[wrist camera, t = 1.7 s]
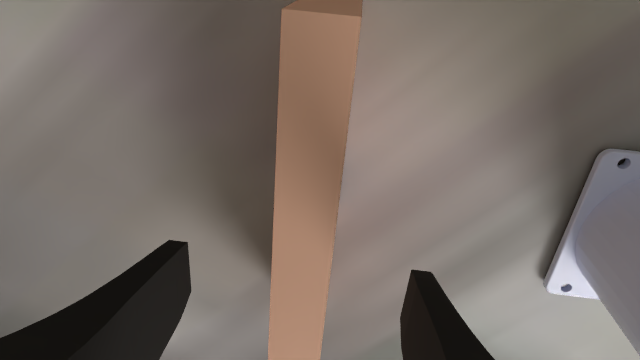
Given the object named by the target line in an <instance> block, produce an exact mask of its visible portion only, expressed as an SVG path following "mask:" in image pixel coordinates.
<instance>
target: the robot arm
mask: <svg viewBox="0 0 640 360" xmlns="http://www.w3.org/2000/svg"><path fill="white" fill-rule="evenodd" d="M623 158H626V160H625V162H624V163H623V164H621V165H617V164H618V162H619V161H620V160H621V159H623ZM543 284H544V287H545V289H546V290H547V291H548V292H549V293H552V294H559V295H567V296H575V297H583V298H591V299H599V300H601V302H602V303H603V304H604V306H605V307H606V309H607V310H608V311H609V313H610V314H611V316H612V317H613V319H614V320H615V321H616V323H617V324H618V326H619V327H620V329H621V330H622V331H623V333H624V334H625V336H626V337H627V338H628V340H629V341H630V343H631V344H632V346H633V347H634V348H635V350H636V351H637V353H638V354H639V356H640V152H639V151H630V150H621V149H606V150H604V151H602V152H601V153H599V155H598V156H597V158H596V160H595V162H594V165H593V167H592V169H591V172H590V174H589V176H588V179H587V181H586V183H585V186H584V188H583V190H582V193H581V195H580V197H579V200H578V202H577V204H576V207H575V209H574V211H573V214H572V216H571V218H570V221H569V223H568V225H567V228H566V230H565V232H564V235H563V237H562V240H561V242H560V244H559V247H558V249H557V251H556V254H555V256H554V258H553V261H552V263H551V265H550V268H549V270H548V272H547V275H546V277H545V279H544V283H543ZM565 284H568V285H567V286H564V287H562V286H563V285H565ZM190 293H191V280H190V267H189V254H188V242H181V241H173V240H169V241H167V242H166V243H164V244H163V245H161V246H160V247H158V248H157V249H156V250H154V251H153V252H152V253H150V254H149V255H147V256H146V257H145V258H143V259H142V260H141V261H139V262H138V263H136V264H135V265H133V266H132V267H131V268H129V269H128V270H126V271H125V272H123V273H122V274H121V275H119V276H118V277H116V278H115V279H113V280H111V281H110V282H108V283H107V284H105V285H104V286H102V287H100V288H99V289H97V290H96V291H94V292H93V293H91V294H89V295H88V296H86V297H84V298H83V299H81V300H79V301H77V302H76V303H74V304H72V305H70V306H68V307H66V308H64V309H62V310H61V311H59V312H57V313H55V314H53V315H51V316H49V317H47V318H45V319H42V320H40V321H38V322H36V323H34V324H32V325H29V326H27V327H25V328H23V329H21V330H19V331H16V332H14V333H12V334H9V335H7V336H4V337H2V338H0V360H159V359H160V357H161V355H162V353H163V351H164V349H165V348H166V346H167V344H168V342H169V340H170V338H171V336H172V334H173V333H174V331H175V329H176V327H177V325H178V323H179V321H180V319H181V317H182V314H183V312H184V309H185V307H186V304H187V301H188V299H189V296H190ZM400 324H401V348H402V355H403V360H495V359H494V358H493V357H492V356H491V355H490V354H489V352H488V351H487V350H486V349H485V348H484V346H483V345H482V344H481V343H480V341H479V340H478V339H477V338H476V336H475V335H474V334H473V333H472V331H471V330H470V329H469V327H468V326H467V325H466V323H465V322H464V320H463V319H462V318H461V316H460V315H459V313H458V312H457V311H456V309H455V308H454V306H453V305H452V303H451V302H450V300H449V299H448V297H447V296H446V294H445V293H444V291H443V290H442V288H441V286H440V285H439V283H438V282H437V280H436V278H435V277H434V275H433V274H432V273H431V272H427V271H419V270H411V274H410V278H409V282H408V287H407V291H406V295H405V299H404V304H403V308H402V312H401V316H400Z"/></svg>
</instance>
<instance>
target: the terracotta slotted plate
mask: <svg viewBox="0 0 640 360" xmlns="http://www.w3.org/2000/svg"><path fill="white" fill-rule="evenodd" d="M361 18H362V0H297V1H295V2H293V3H291V4H289V5H288V6H286V7H284V8H282V14H281V39H280V65H279V91H278V116H277V142H276V168H275V193H274V219H273V245H272V270H271V296H270V322H269V347H268V360H320V354H321V346H322V338H323V330H324V321H325V313H326V305H327V297H328V289H329V280H330V272H331V264H332V256H333V247H334V239H335V231H336V223H337V215H338V206H339V198H340V190H341V182H342V174H343V165H344V157H345V149H346V141H347V133H348V124H349V116H350V108H351V100H352V92H353V83H354V75H355V67H356V59H357V51H358V42H359V34H360V26H361Z"/></svg>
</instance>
